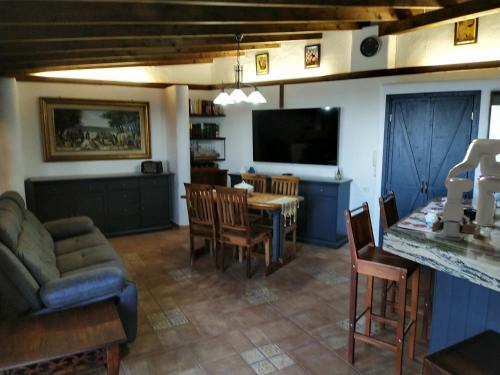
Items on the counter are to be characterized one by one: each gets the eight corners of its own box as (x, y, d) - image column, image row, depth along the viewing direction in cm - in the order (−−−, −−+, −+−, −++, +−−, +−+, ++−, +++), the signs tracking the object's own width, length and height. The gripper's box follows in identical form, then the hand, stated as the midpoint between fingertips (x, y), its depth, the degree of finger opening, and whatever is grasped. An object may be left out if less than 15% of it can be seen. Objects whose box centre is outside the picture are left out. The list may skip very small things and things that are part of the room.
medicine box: (456, 235, 221) (457, 220, 220) (459, 237, 217) (461, 222, 215) (441, 234, 222) (443, 220, 220) (445, 236, 217) (446, 222, 216)
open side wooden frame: (436, 227, 241) (437, 219, 240) (478, 234, 227) (479, 226, 226) (432, 231, 232) (432, 223, 231) (475, 238, 217) (476, 230, 217)
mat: (441, 233, 227) (441, 232, 227) (464, 237, 220) (464, 236, 220) (436, 237, 218) (436, 236, 218) (459, 241, 211) (459, 240, 211)
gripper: (472, 202, 213) (469, 231, 216) (439, 198, 224) (436, 226, 227) (470, 204, 207) (466, 234, 210) (436, 199, 218) (433, 228, 221)
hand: (451, 230), depth 218 cm, fingers closed on medicine box, 9 cm apart
